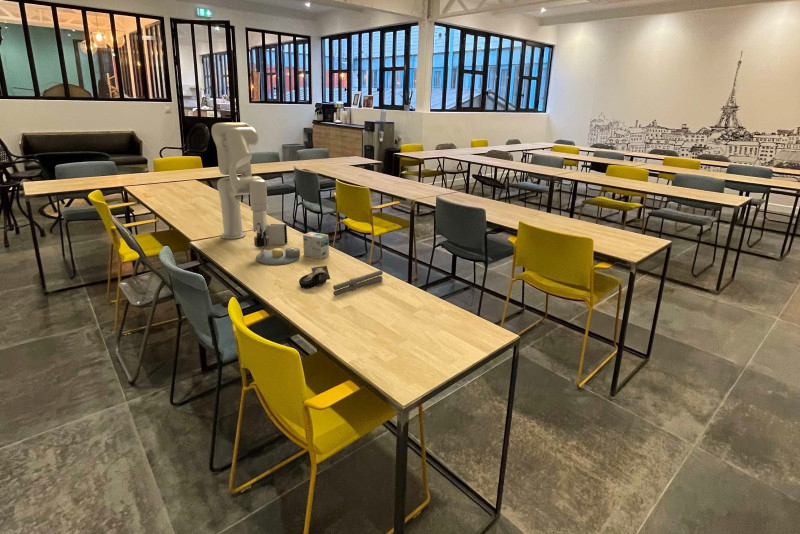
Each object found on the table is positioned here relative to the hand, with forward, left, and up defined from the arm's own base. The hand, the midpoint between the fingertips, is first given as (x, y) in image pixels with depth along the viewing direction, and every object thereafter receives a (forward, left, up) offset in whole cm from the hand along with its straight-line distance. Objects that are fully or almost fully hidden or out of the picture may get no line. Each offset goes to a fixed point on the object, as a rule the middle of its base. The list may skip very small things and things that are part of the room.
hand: (262, 243), depth 217 cm
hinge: (-22, +2, -8) cm, 24 cm away
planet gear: (0, 0, -1) cm, 1 cm away
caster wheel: (+34, +26, -8) cm, 44 cm away
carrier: (0, +7, -7) cm, 10 cm away
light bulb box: (-3, +25, -8) cm, 26 cm away
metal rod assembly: (+38, +44, -8) cm, 58 cm away
